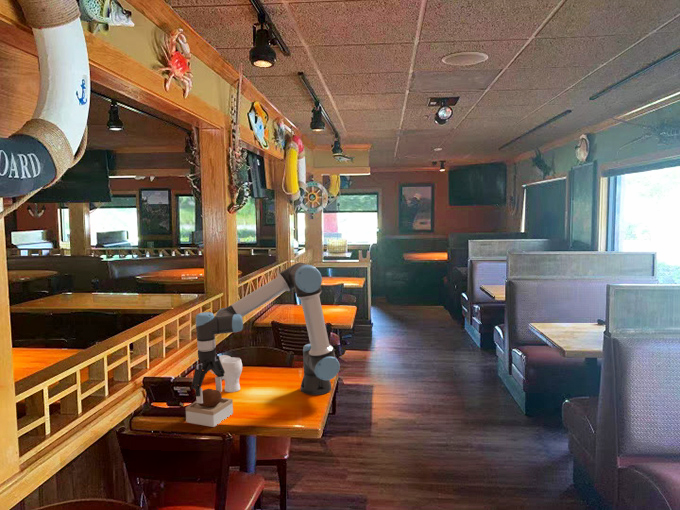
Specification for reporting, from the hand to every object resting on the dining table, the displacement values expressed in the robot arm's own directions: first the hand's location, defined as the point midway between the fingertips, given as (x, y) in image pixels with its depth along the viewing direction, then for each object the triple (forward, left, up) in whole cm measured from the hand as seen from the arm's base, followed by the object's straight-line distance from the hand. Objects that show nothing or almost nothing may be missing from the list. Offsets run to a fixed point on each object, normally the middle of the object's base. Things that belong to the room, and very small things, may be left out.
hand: (209, 397), depth 215 cm
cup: (+10, -32, -9) cm, 35 cm away
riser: (0, 0, -9) cm, 9 cm away
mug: (+25, -43, -9) cm, 51 cm away
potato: (0, 0, -4) cm, 4 cm away
